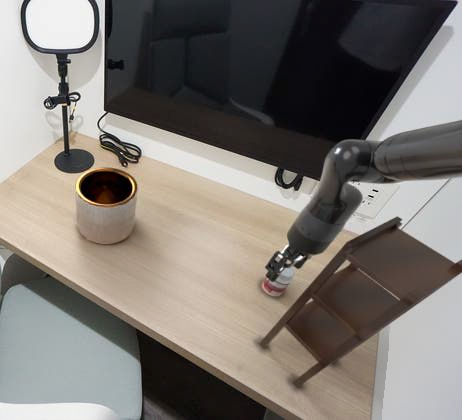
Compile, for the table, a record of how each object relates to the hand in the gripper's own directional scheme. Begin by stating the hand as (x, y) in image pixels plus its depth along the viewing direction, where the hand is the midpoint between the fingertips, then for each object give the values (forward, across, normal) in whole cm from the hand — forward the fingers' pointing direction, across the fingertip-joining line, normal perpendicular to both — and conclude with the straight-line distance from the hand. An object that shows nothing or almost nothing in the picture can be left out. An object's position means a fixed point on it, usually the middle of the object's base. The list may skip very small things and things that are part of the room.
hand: (282, 272), depth 76 cm
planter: (+7, -28, +39) cm, 48 cm away
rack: (+7, -8, -14) cm, 18 cm away
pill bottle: (+7, 0, 0) cm, 7 cm away
